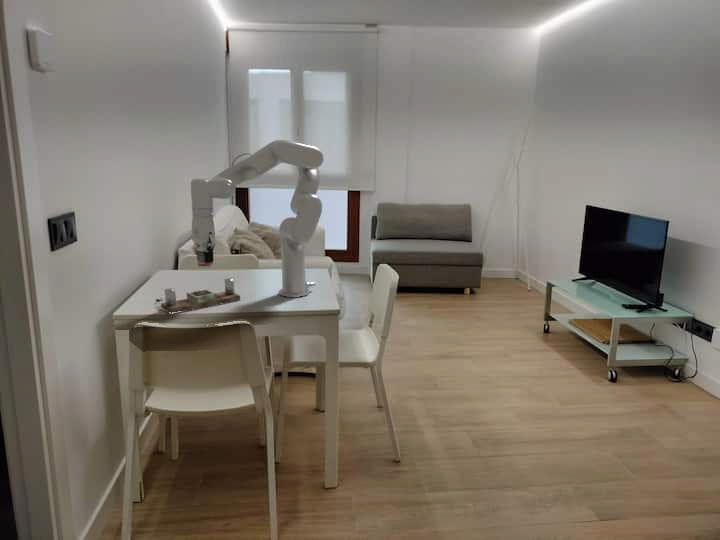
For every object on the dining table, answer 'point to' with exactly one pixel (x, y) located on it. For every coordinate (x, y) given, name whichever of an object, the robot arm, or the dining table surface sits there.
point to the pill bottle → (203, 257)
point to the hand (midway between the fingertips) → (205, 260)
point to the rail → (200, 300)
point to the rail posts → (171, 296)
